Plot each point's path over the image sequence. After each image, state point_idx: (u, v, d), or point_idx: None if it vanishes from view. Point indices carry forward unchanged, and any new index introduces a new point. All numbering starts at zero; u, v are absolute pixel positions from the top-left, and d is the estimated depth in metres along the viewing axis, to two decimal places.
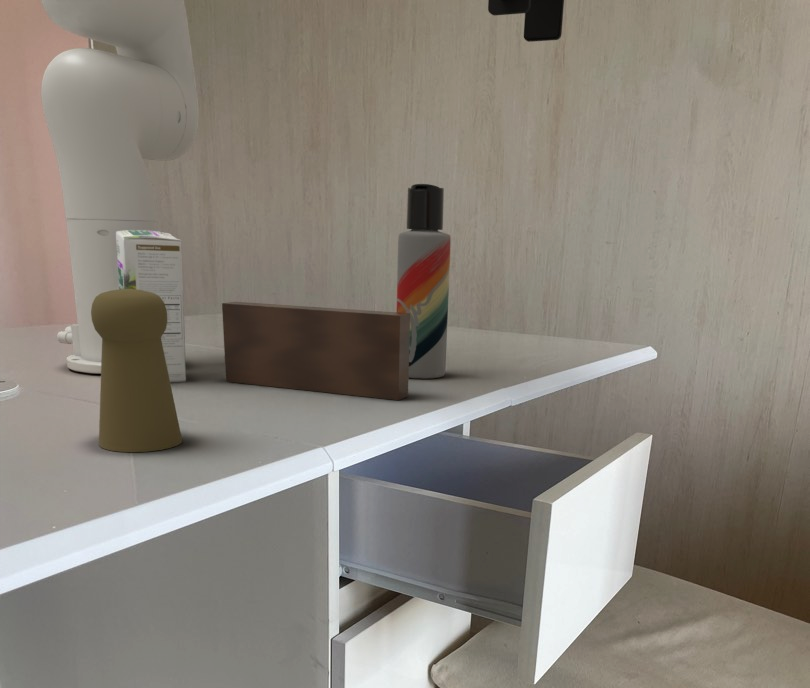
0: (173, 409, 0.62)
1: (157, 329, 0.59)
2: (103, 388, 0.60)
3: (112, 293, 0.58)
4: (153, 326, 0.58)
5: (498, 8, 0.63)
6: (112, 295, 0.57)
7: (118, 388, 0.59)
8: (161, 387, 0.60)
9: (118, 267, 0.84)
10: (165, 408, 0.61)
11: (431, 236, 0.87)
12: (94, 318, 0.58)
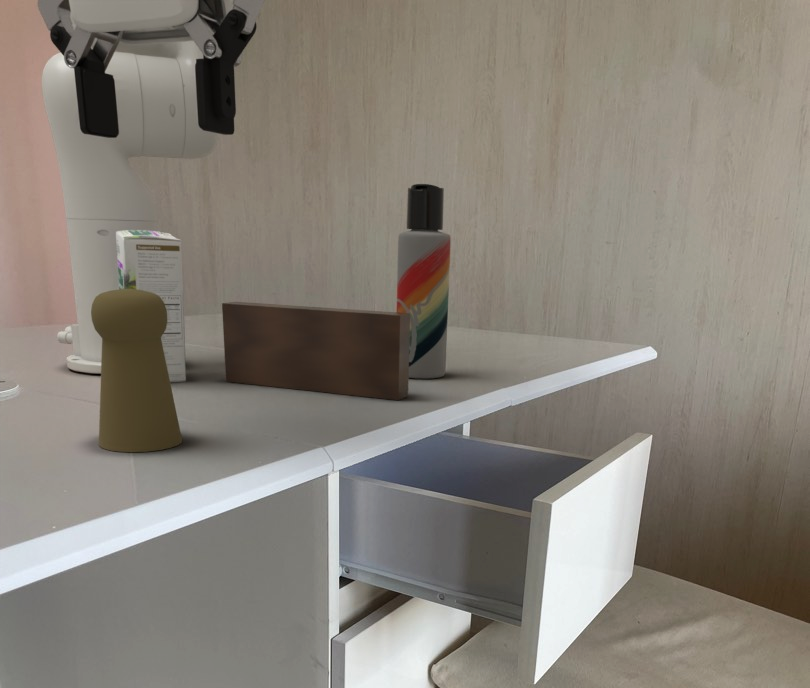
0: (173, 409, 0.62)
1: (157, 329, 0.59)
2: (103, 388, 0.60)
3: (112, 293, 0.58)
4: (153, 326, 0.58)
5: None
6: (113, 295, 0.57)
7: (118, 388, 0.59)
8: (161, 387, 0.60)
9: (118, 267, 0.84)
10: (165, 408, 0.61)
11: (431, 236, 0.87)
12: (94, 318, 0.58)
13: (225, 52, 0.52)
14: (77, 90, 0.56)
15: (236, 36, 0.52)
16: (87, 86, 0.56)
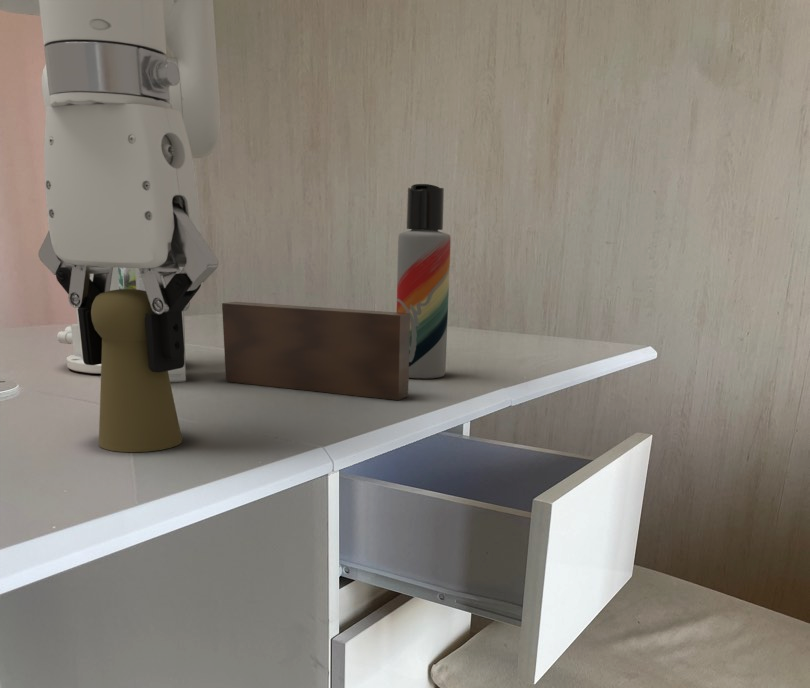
0: (173, 409, 0.62)
1: None
2: (103, 388, 0.60)
3: (112, 293, 0.58)
4: None
5: None
6: (112, 295, 0.57)
7: (118, 388, 0.59)
8: (161, 387, 0.60)
9: (118, 267, 0.84)
10: (165, 408, 0.61)
11: (431, 236, 0.87)
12: (94, 318, 0.58)
13: (171, 310, 0.57)
14: (80, 328, 0.60)
15: (181, 295, 0.56)
16: (90, 325, 0.60)
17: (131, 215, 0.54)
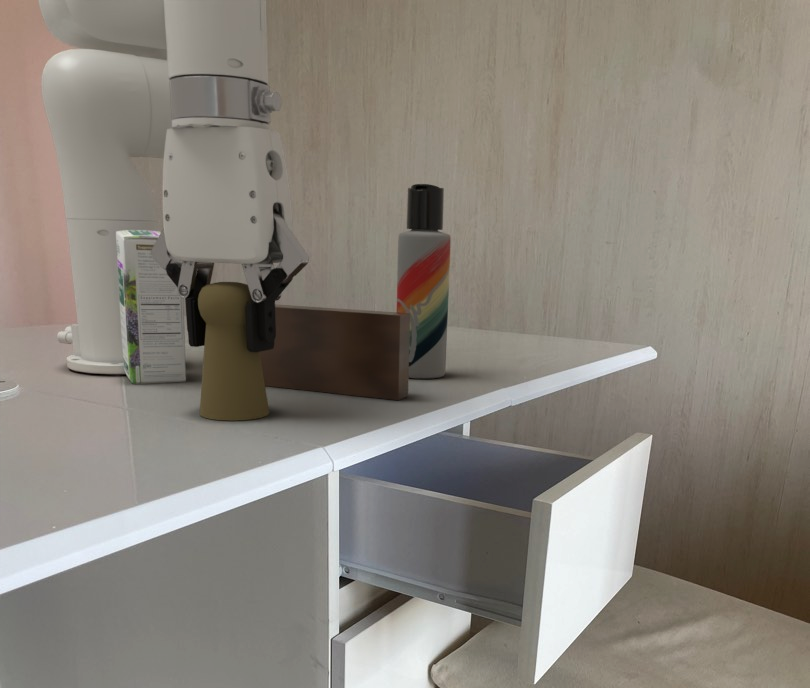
0: (263, 385, 0.72)
1: None
2: (206, 366, 0.70)
3: (217, 285, 0.68)
4: None
5: None
6: (218, 286, 0.68)
7: (221, 365, 0.69)
8: (255, 365, 0.71)
9: (118, 267, 0.84)
10: (258, 383, 0.71)
11: (431, 236, 0.87)
12: (201, 306, 0.68)
13: (267, 299, 0.68)
14: (187, 315, 0.70)
15: (277, 286, 0.67)
16: (195, 312, 0.70)
17: (238, 219, 0.65)
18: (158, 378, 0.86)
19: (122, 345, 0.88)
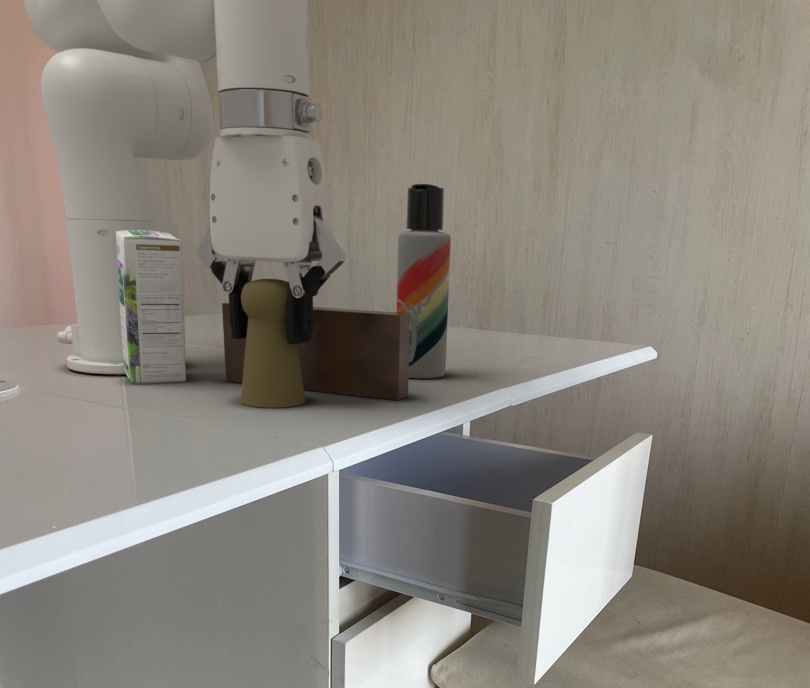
0: (300, 374, 0.78)
1: None
2: (248, 357, 0.76)
3: (260, 281, 0.73)
4: None
5: None
6: (261, 283, 0.73)
7: (262, 356, 0.75)
8: (293, 356, 0.76)
9: (118, 267, 0.84)
10: (296, 373, 0.76)
11: (431, 236, 0.87)
12: (245, 301, 0.74)
13: (307, 295, 0.73)
14: (231, 310, 0.76)
15: (316, 283, 0.72)
16: (238, 307, 0.76)
17: (281, 221, 0.70)
18: (158, 378, 0.86)
19: (122, 345, 0.88)
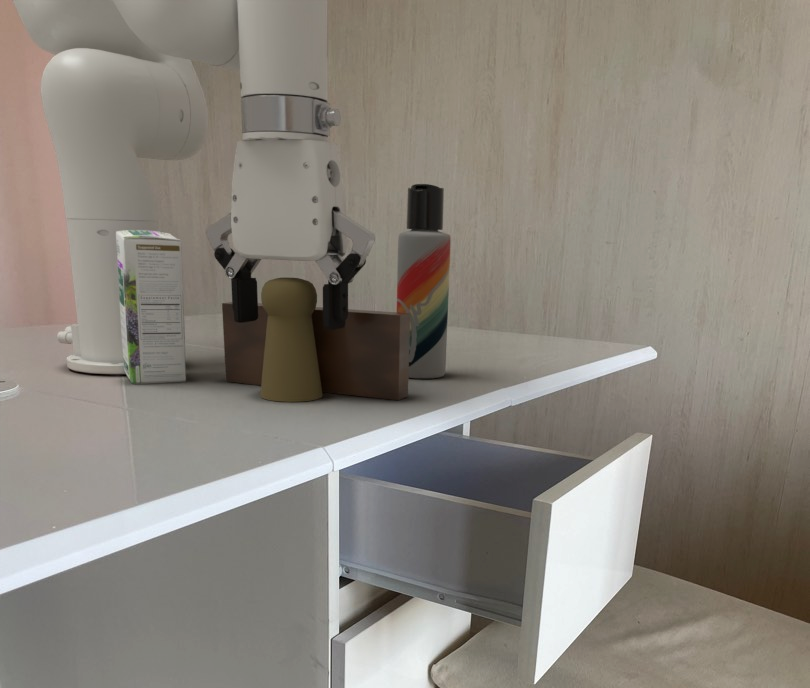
0: (318, 370, 0.80)
1: (311, 307, 0.77)
2: (268, 353, 0.78)
3: (280, 280, 0.76)
4: (309, 305, 0.77)
5: None
6: (281, 281, 0.76)
7: (282, 352, 0.78)
8: (312, 352, 0.79)
9: (118, 267, 0.84)
10: (314, 369, 0.79)
11: (431, 236, 0.87)
12: (265, 299, 0.77)
13: (344, 279, 0.75)
14: (234, 294, 0.79)
15: (352, 270, 0.74)
16: (241, 291, 0.79)
17: (301, 221, 0.73)
18: (158, 378, 0.86)
19: (122, 345, 0.88)
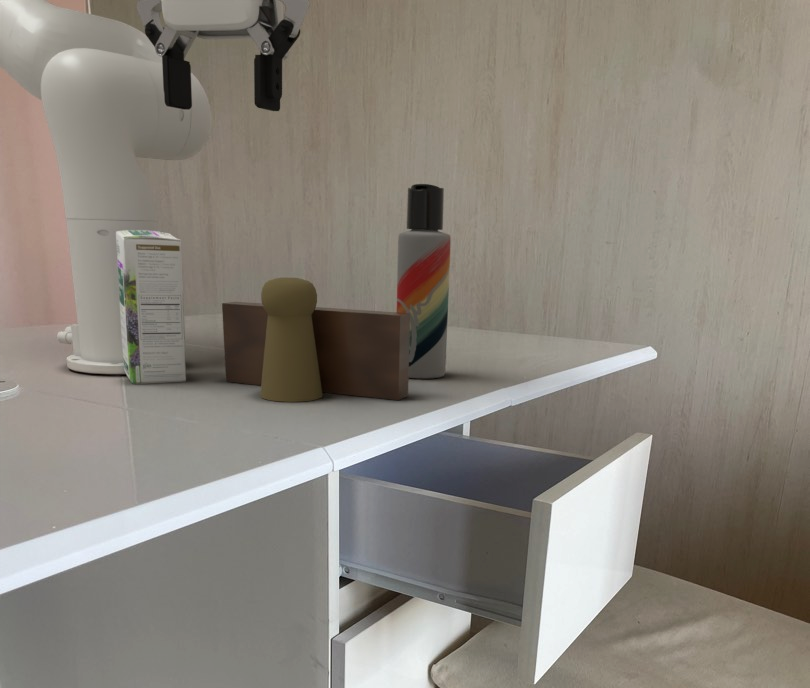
0: (318, 370, 0.80)
1: (311, 307, 0.77)
2: (268, 353, 0.78)
3: (280, 280, 0.76)
4: (309, 305, 0.77)
5: None
6: (281, 281, 0.76)
7: (282, 352, 0.78)
8: (312, 352, 0.79)
9: (118, 267, 0.84)
10: (314, 369, 0.79)
11: (431, 236, 0.87)
12: (265, 299, 0.77)
13: (276, 50, 0.71)
14: (164, 73, 0.75)
15: (285, 39, 0.70)
16: (171, 70, 0.75)
17: None
18: (158, 378, 0.86)
19: (122, 345, 0.88)
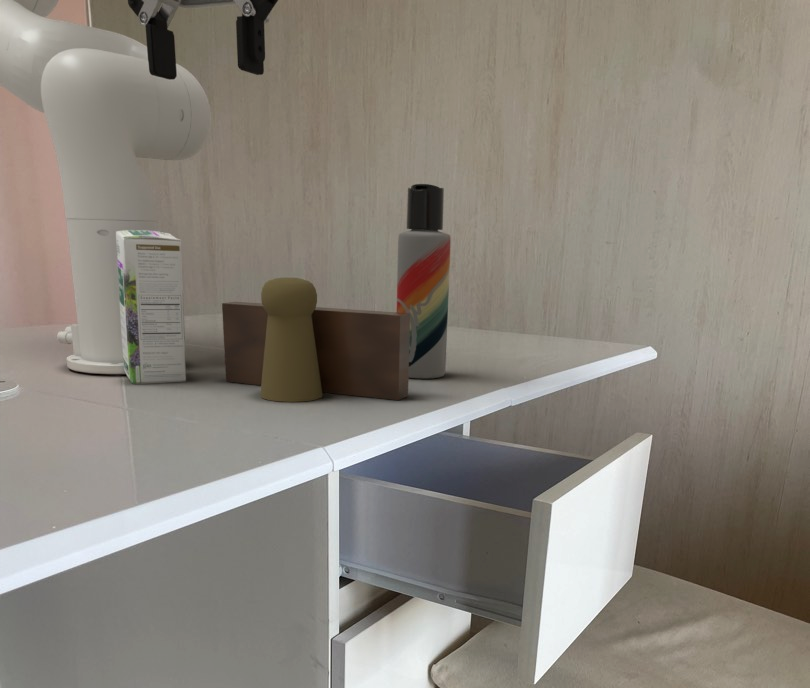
0: (318, 370, 0.80)
1: (311, 307, 0.77)
2: (268, 353, 0.78)
3: (280, 280, 0.76)
4: (309, 305, 0.77)
5: None
6: (280, 281, 0.76)
7: (282, 352, 0.78)
8: (312, 352, 0.79)
9: (118, 267, 0.84)
10: (314, 369, 0.79)
11: (431, 236, 0.87)
12: (265, 299, 0.77)
13: (258, 11, 0.72)
14: (147, 41, 0.76)
15: None
16: (155, 38, 0.76)
17: None
18: (158, 378, 0.86)
19: (122, 345, 0.88)
